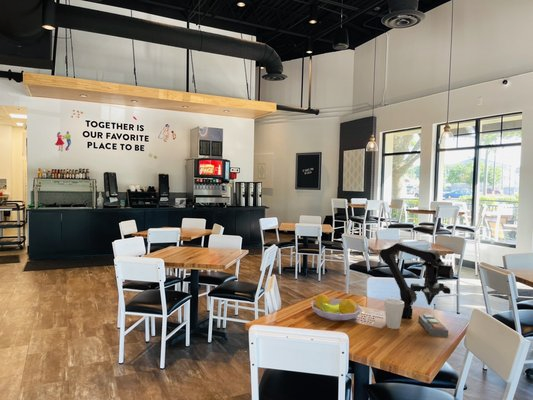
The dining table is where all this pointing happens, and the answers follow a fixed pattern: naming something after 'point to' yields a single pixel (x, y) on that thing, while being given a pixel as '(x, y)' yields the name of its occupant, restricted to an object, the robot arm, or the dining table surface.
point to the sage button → (432, 321)
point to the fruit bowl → (335, 308)
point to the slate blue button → (428, 316)
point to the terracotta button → (437, 326)
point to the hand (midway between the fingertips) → (428, 304)
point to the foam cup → (393, 312)
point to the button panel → (430, 329)
